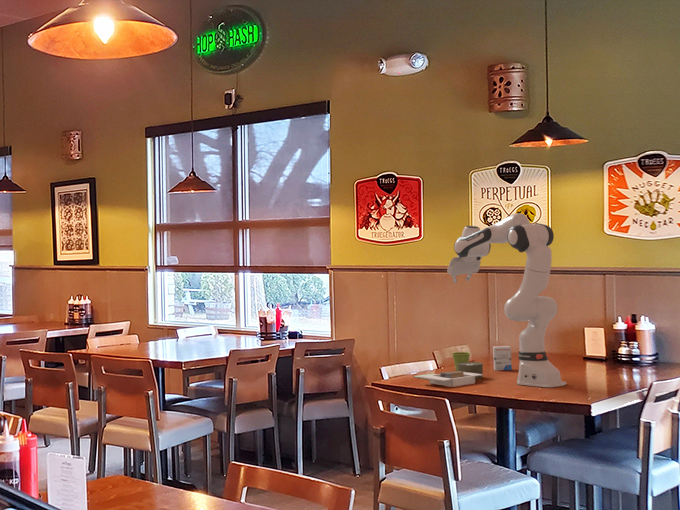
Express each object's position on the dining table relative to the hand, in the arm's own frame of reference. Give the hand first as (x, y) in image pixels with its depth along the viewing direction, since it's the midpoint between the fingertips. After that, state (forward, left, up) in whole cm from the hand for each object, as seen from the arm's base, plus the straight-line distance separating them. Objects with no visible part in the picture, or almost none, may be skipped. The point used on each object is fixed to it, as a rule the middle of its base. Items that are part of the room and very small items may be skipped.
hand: (460, 281), depth 412 cm
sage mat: (-9, +29, -45) cm, 54 cm away
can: (-22, +17, -45) cm, 53 cm away
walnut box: (-29, +34, -45) cm, 63 cm away
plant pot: (-2, +2, -45) cm, 45 cm away
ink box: (-15, -14, -45) cm, 49 cm away
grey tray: (-29, +34, -45) cm, 63 cm away
